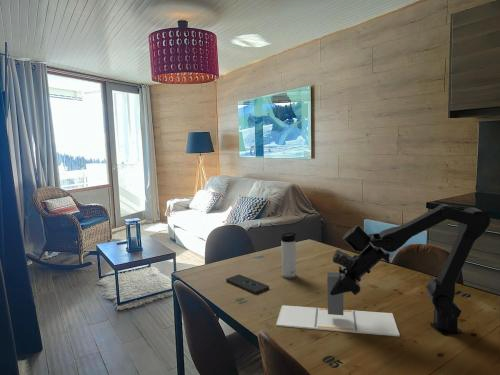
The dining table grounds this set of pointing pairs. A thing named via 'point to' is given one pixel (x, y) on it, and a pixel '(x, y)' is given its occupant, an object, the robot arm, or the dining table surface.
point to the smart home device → (247, 284)
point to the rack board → (338, 320)
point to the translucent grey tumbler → (334, 300)
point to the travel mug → (288, 255)
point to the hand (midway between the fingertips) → (331, 291)
